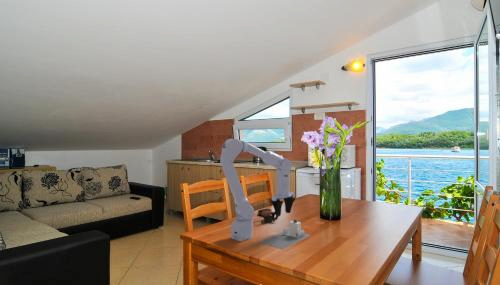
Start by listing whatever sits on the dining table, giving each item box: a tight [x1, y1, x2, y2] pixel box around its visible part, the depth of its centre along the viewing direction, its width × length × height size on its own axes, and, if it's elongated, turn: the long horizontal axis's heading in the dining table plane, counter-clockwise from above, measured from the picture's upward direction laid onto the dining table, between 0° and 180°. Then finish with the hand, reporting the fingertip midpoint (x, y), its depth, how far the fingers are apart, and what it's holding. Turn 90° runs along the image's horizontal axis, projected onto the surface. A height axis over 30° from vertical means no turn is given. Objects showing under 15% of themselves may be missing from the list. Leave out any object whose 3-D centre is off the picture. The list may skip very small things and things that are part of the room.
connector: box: [289, 219, 302, 236], centre depth 131 cm, size 3×4×6 cm
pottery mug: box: [256, 208, 280, 226], centre depth 155 cm, size 12×10×8 cm
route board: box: [259, 231, 312, 250], centre depth 127 cm, size 22×12×1 cm, turn 138°
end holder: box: [283, 226, 306, 239], centre depth 132 cm, size 6×8×2 cm
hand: (283, 214), depth 135 cm, fingers open, 7 cm apart
